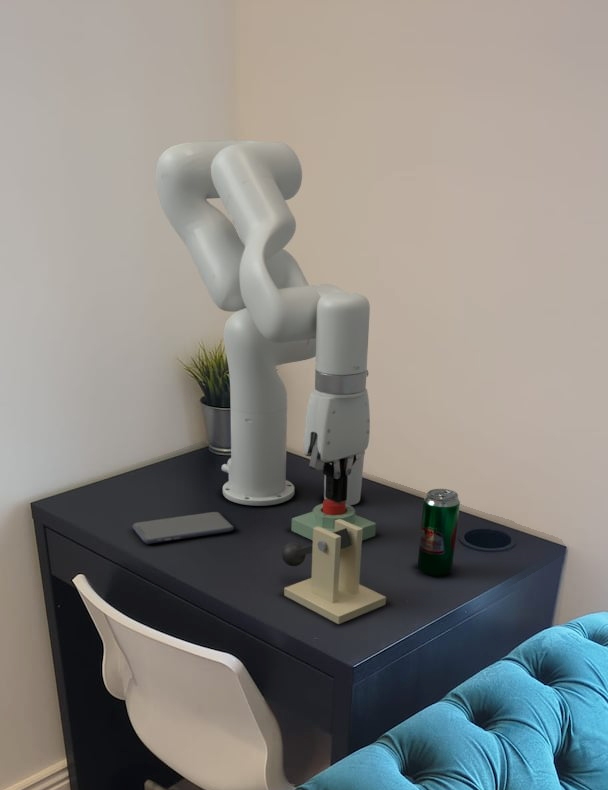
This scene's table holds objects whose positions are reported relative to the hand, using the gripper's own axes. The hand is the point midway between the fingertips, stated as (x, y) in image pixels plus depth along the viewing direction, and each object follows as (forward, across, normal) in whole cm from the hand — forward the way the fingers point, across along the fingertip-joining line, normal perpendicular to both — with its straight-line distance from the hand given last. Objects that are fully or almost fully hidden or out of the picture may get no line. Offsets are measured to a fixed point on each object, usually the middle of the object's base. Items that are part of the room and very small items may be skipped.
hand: (335, 499), depth 152 cm
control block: (+6, 0, 0) cm, 6 cm away
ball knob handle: (+1, +16, +13) cm, 21 cm away
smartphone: (+6, +18, -16) cm, 25 cm away
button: (+2, 0, 0) cm, 2 cm away
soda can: (+6, -2, +19) cm, 20 cm away
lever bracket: (+6, +16, +17) cm, 24 cm away
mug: (+6, -12, -11) cm, 18 cm away
